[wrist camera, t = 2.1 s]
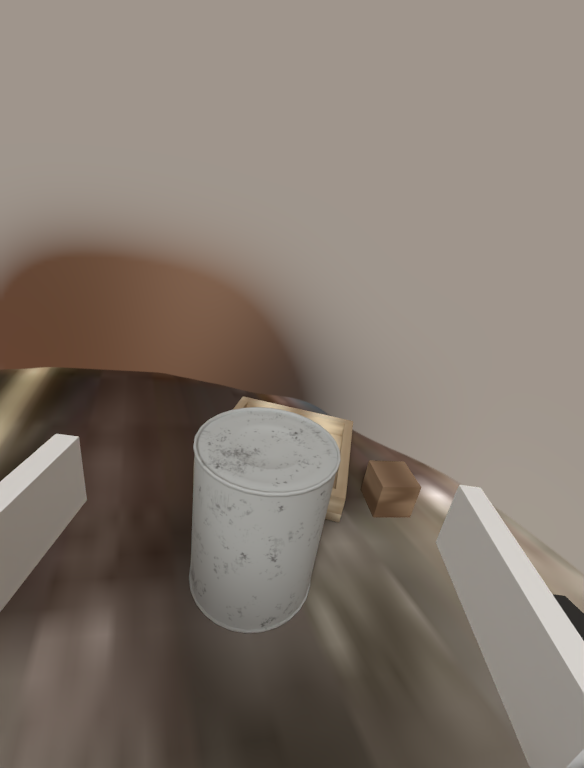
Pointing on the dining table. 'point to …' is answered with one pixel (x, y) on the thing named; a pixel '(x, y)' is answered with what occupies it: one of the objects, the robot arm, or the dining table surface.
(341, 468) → the oak tray
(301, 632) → the dining table surface
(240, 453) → the speckled tin can
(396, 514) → the walnut block
